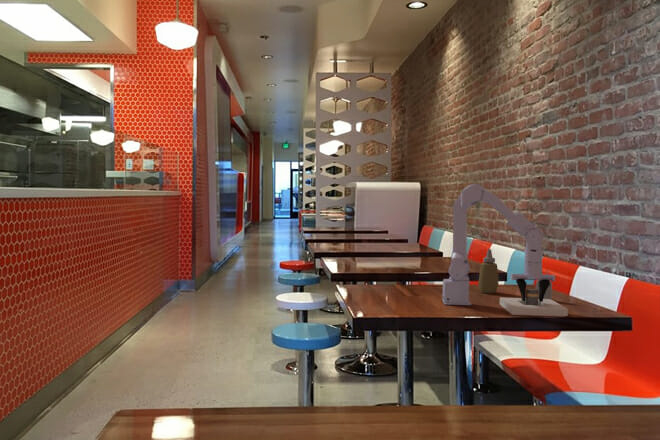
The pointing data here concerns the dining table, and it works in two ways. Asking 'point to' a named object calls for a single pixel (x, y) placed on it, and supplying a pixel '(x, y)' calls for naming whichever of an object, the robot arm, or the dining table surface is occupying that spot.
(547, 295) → the power adapter
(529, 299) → the grey spice jar
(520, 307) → the board
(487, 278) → the squeeze bottle
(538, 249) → the robot arm
